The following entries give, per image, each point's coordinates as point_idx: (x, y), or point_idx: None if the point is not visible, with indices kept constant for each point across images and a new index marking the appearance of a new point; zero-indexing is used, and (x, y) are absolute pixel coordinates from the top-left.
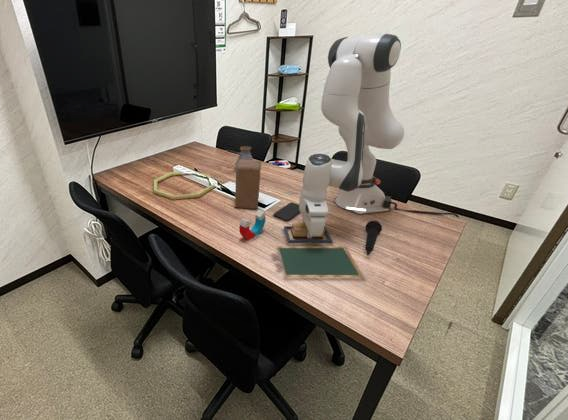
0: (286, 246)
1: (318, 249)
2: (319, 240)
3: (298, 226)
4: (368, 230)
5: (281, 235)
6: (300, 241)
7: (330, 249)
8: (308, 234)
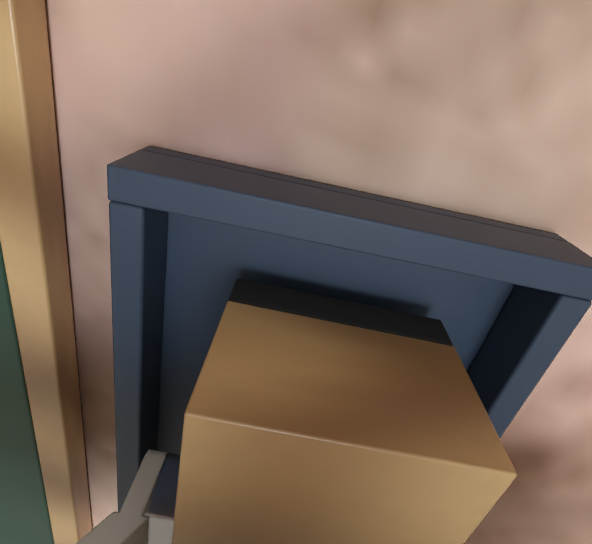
0: (10, 63)
1: (7, 437)
2: None
3: (312, 512)
4: None
5: (436, 139)
6: (116, 336)
7: (25, 512)
8: (124, 510)
